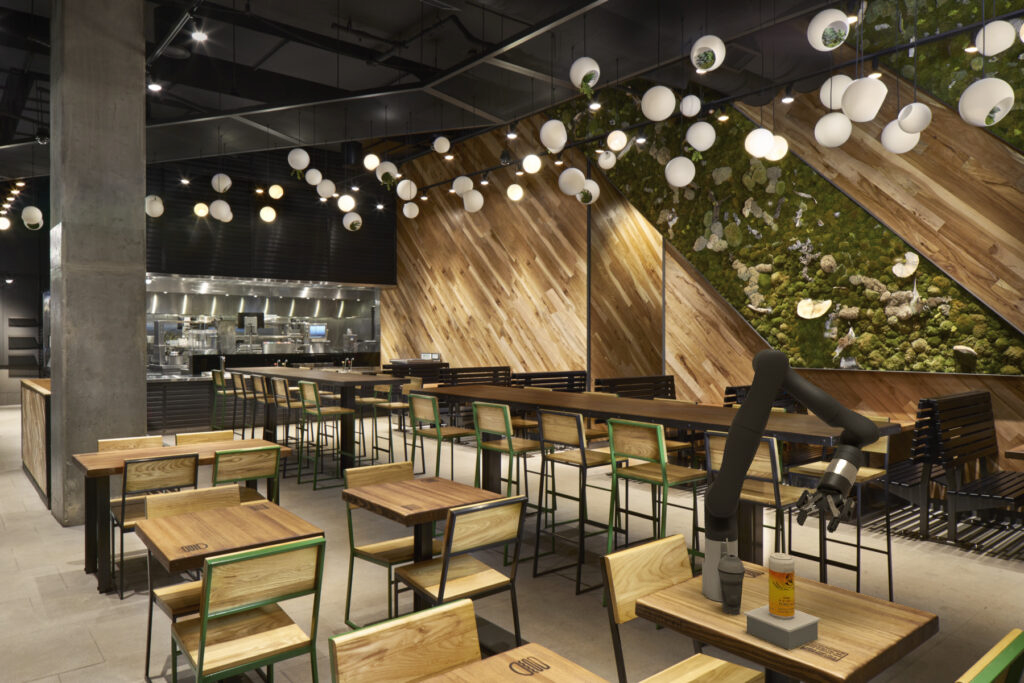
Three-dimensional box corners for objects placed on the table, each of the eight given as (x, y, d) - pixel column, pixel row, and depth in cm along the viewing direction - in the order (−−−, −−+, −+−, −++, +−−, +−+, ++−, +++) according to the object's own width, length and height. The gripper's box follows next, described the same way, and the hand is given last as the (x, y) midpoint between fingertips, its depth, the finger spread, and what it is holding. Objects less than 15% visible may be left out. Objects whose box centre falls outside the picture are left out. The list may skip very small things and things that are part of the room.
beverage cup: (738, 619, 176) (738, 544, 177) (712, 612, 181) (712, 539, 182) (749, 611, 182) (749, 539, 182) (724, 604, 186) (724, 534, 187)
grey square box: (743, 632, 168) (743, 612, 168) (774, 621, 175) (774, 602, 175) (789, 651, 157) (789, 630, 157) (820, 638, 164) (820, 618, 164)
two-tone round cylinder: (782, 621, 162) (781, 560, 163) (763, 612, 168) (763, 554, 168) (800, 617, 165) (799, 557, 165) (781, 609, 170) (780, 551, 171)
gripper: (808, 467, 185) (783, 513, 178) (858, 474, 173) (834, 524, 166) (819, 484, 187) (795, 530, 181) (869, 492, 176) (846, 542, 169)
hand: (814, 527), depth 174 cm, fingers open, 8 cm apart
